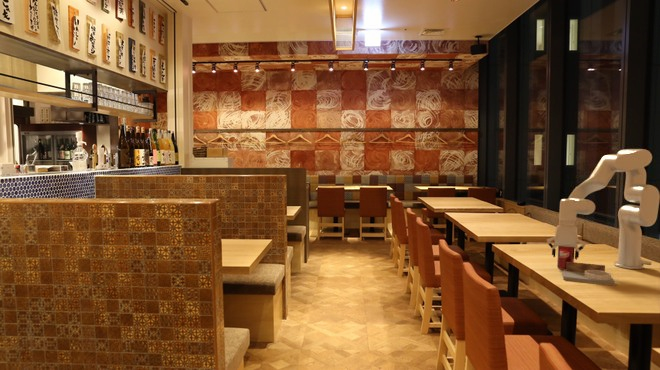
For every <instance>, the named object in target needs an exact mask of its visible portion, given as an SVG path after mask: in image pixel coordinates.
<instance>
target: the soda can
mask: <svg viewBox="0 0 660 370" xmlns="http://www.w3.org/2000/svg"><path fill="white" fill-rule="evenodd" d="M575 251H576V249H575V248H574V247H572V246H557V263H556V266H557V269H559V270H561V271H566V263H567V262H575Z"/></svg>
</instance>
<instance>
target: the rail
mask: <svg viewBox="0 0 660 370" xmlns="http://www.w3.org/2000/svg"><path fill="white" fill-rule="evenodd" d="M586 270H599V271H604V272H606V265H605V264H594V263H585V262H575V261H574V262H567V263H566V270H565V271H572V272H582V273H584V272H585V271H586Z"/></svg>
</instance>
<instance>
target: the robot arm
mask: <svg viewBox="0 0 660 370" xmlns="http://www.w3.org/2000/svg"><path fill="white" fill-rule="evenodd" d="M652 159H653V155H652V153H651V151H649V150H647V149H645V148H644V149H643V148H626V149H624V148H623V149H620V150H619V151H618V152H617V153H616V154H615V153H613V154H610V153H609V154H606V155H603V156H602V157H601V159H600V160H599V161H598V163H597V165H596V167H595V168H594V170H593V171H592V172H591V174H590V175H589V177H588V178H587V179H585V180H584V181H582V183H580V184H579V185H577V186H576V187H575V188H574V189H573V190H572V192H571V193H570V195H569V196H568V198H562V199H560V201H559V216H558V217H559V218H558V225H556V228H555V232H554V236H552V237H550V238H547V239H546V242H547V244H548V246H549V247H550V248H551V249H552V250H551V255H552V256H553V258H556V248H558V246H572V247H574V248H575V250H574V260H578V258H579V257H580V251H582V250H583V249H584V248H585V246H586V244H587V243H586V242H584V241H583V240H581V239H580V238H579V235H578V227H577V226H579V225H580V222H578V221H577V215H578V214H579V215H583V216H584V215H590V214H593V213H594V212H595V210H596V204H595V203H594V202H593V201H592V200H590V199H585V198H586V197H587V196H588V195H590V194H592V193H594V192H597V191H600V190H602V189H604V188H606V187H607V186H608V184H609V182H610V181H611V180H612V177H613V176H614V175H615V173H624V172H625V184H624V191H623V195H624V199H625V200H626V201H627V202H630V203H635V204H625V205H622V206H621V207H620V208H619V210H618V213H617V217H618V225H619V233H618V235H619V237H618V253H617V261H614V262H613V265H614V266H616V267H619V268H622V269H629V270H643V269H644V265H647V266H652V261H651V260H644V259H642V258H641V253H642V251H641V250H642V238H643V237H642V235H643V233H642V229H641V227H651V226H653V225H654V224H655V223H656V221H657V219H658V212H659V205H660V191H659V189H658V188H657V187H656V186H654V185H651V184H647V171H646V169H645V167H647V166H649V165H650V163H651V162H652ZM636 204H639V205H636ZM553 241H554V244H552V242H553ZM578 243H579V244H580V246H579V247H578Z"/></svg>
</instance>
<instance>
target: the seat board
mask: <svg viewBox="0 0 660 370" xmlns="http://www.w3.org/2000/svg"><path fill="white" fill-rule="evenodd" d="M561 274H562V279H563V281H569V282H570V281H571V282H579V283H587V284H596V285H598V284H599V285H607V286H616V282H615V280H614V278H613V276H612V273H610V272H607V271H605V272H604V271H599V270H586V271H585V272H584V273H582V272H572V271H566V270H561Z"/></svg>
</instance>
